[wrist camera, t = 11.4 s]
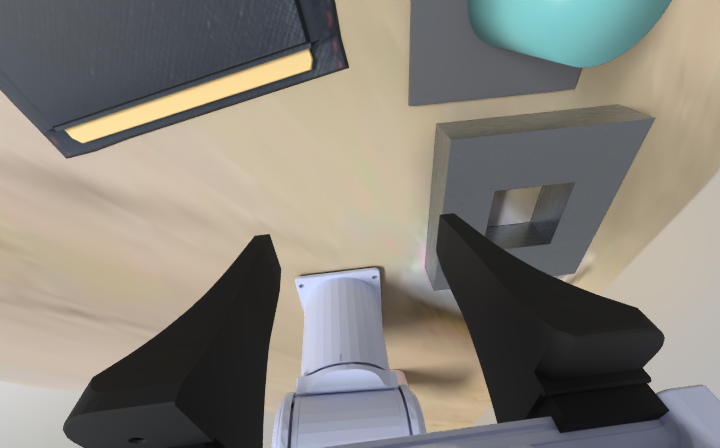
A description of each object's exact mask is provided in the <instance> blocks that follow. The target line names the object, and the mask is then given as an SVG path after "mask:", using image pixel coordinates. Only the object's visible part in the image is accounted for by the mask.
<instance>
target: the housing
mask: <svg viewBox="0 0 720 448" xmlns="http://www.w3.org/2000/svg"><path fill="white" fill-rule="evenodd" d="M654 120H655V118H654V117H651V116H648V115H645V114H643V113H640V112H637V111H634V110H631V109H629V108H626V107H623V106H620V105H610V106H601V107H591V108H582V109H572V110H563V111H553V112H544V113H535V114H525V115H516V116H506V117H497V118H487V119H478V120H468V121H459V122H449V123H440V124H436V136H435V148H434V160H433V173H432V185H431V197H430V210H429V222H428V234H427V247H426V259H425V269H426V271H427V274H428V277H429V279H430V282H431V285H432V287H433V290H434V291H435V290H444V289H450V287H449V285H448V282H447V280H446V278H445V276H444V274H443V272H442V269H441V266H440V263H439V260H438V256H437V253H436V244H437V235H438V225H439V216H440V215H441V214H450V213H454V214H456V215H457V216H459V217H460V218H461V219H462V220H464V221H465V222H466V223H468V224H469V225H470V226H472V227H473V228H474V229H475V230H477V231H478V232H479V233H481V234H482V235H483V236H485V237H486V238H488V239H489V240H490V241H492V242H493V243H495V244H496V245H498V246H499V247H501V248H502V249H504V250H505V251H507V252H508V253H510V254H512V255H513V256H515V257H517V258H518V259H520V260H522V261H524V262H525V263H527V264H529V265H531V266H533V267H534V268H536V269H538V270H540V271H542V272H544V273H546V274H549V275H551V276H558V275H566V274H574V273H575V272H576V270H577V268H578V266H579V264H580V263H581V261H582V259H583V257H584V255H585V253H586V251H587V249H588V247H589V245H590V243H591V241H592V239H593V237H594V235H595V234H596V232H597V230H598V228H599V226H600V224H601V222H602V220H603V218H604V216H605V214H606V212H607V210H608V208H609V207H610V205H611V203H612V201H613V199H614V197H615V195H616V193H617V191H618V189H619V187H620V185H621V183H622V181H623V179H624V178H625V176H626V174H627V172H628V170H629V168H630V166H631V164H632V162H633V160H634V158H635V156H636V154H637V152H638V151H639V149H640V147H641V145H642V143H643V141H644V139H645V137H646V135H647V133H648V131H649V129H650V127H651V125H652V123H653V122H654ZM535 186H542V189H541V192H540V195H539V198H538V201H537V204H536V207H535V210H534V213H533V216H532V219H531V222H529V223H521V224H512V225H503V226H495V227H487V224H488V220H489V215H490V211H491V207H492V203H493V198H494V194H495V191H500V190H509V189H518V188H527V187H535Z"/></svg>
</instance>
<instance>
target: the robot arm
mask: <svg viewBox="0 0 720 448" xmlns="http://www.w3.org/2000/svg"><path fill="white" fill-rule="evenodd" d="M436 253H437V256H438V260H439V263H440V266H441V269H442V272H443V274H444V276H445V278H446V280H447V282H448V285H449V287H450V289H451V291H452V293H453V295H454V297H455V299H456V301H457V304H458V306H459V308H460V310H461V312H462V314H463V316H464V319H465V321H466V324H467V326H468V329H469V332H470V335H471V338H472V341H473V343H474V346H475V349H476V353H477V356H478V359H479V362H480V365H481V368H482V371H483V374H484V378H485V381H486V384H487V388H488V391H489V394H490V398H491V401H492V405H493V408H494V412H495V416H496V419H497V423H498V424H491V425H484V426H476V427H469V428H461V429H454V430H447V431H439V432H432V433H426V428H425V423H424V418H423V414H422V411H421V407H420V405H419V402H418V400H417V397H416V396H415V394H414V393H413V392H412V391H411V390H410V389H409V388H408V386H407V385H405V384H402V385H398V382H397V377H396V372H395V371H390V369H389V363H388V357H387V352H386V346H385V340H384V334H383V329H382V309H381V288H380V272H379V269H378V268H366V269H357V270H349V271H340V272H332V273H324V274H315V275H307V276H299V277H297V278H296V279H295V284H296V287H297V290H298V294H299V297H300V300H301V304H302V307H303V310H304V314H305V320H304V335H303V350H302V365H301V377H298V378H297V385H296V393H295V392H290V393H287V394H286V395H285V398H284V399H283V400H282V401H281V402H280V403H279V405H278V408H277V412H276V417H275V423H274V430H273V439H272V448H720V400H719V399H718V398H717V397H716V396H715V395H714V394H713V393H712V392H711V391H710V390H709V389H708V388H707V387H706V386H704V385H694V386H688V387H679V388H672V389H667V390H663V391H661V392H658V393H656V394H655V392H654V391H653V390H652V389H651V388H650V387H649V385H648V384H647V383H649V382H651V377H650V376H649V375H648V374H647V373H646V372H645V370H644V369H643V367H644V366H645V365H646V364H647V362H648V361H649V360H651V359H652V358H653V357H654V355H655V354H656V353H657V352H658V351H659V350H660V349H661V347H662V346H663V342H664V338H665V337H664V335H663V333H662V332H661V331H660V330H659V329H658V328H657V327H656V326H655V325H654V324H653V323H652V322H651V321H650V320H649V319H648V318H647V317H646V316H645V315H644V314H643V313H642V312H641V311H640V310H639V309H638V308H635V307H633V306H630V305H626V304H623V303H620V302H617V301H614V300H611V299H608V298H605V297H602V296H599V295H596V294H594V293H591V292H589V291H586V290H583V289H581V288H578V287H576V286H573V285H571V284H569V283H566V282H564V281H562V280H559V279H557V278H555V277H553V276H551V275H549V274H546V273H544V272H542V271H540V270H538V269H536V268H534V267H533V266H531V265H529V264H527V263H525V262H524V261H522V260H520V259H518V258H517V257H515V256H513V255H512V254H510V253H508V252H507V251H505V250H504V249H502V248H501V247H499V246H498V245H496V244H495V243H493V242H492V241H490V240H489V239H488V238H486V237H485V236H483V235H482V234H481V233H479V232H478V231H477V230H475V229H474V228H473V227H472V226H470V225H469V224H468V223H466V222H465V221H464V220H462V219H461V218H460V217H459V216H457V215H456V214H454V213H450V214H441V215H440V216H439V225H438V235H437V244H436ZM280 280H281V267H280V264H279V261H278V258H277V255H276V252H275V249H274V246H273V243H272V240H271V237H270V234H267V235H258V236H254V238H253V239H252V240H251V241H250V243H249V244H248V245H247V246H246V248H245V249H244V250H243V251H242V253H241V254H240V255H239V256H238V258H237V259H236V260H235V261H234V263H233V264H232V265H231V266H230V267H229V269H228V270H227V271H226V272H225V273H224V274H223V276H222V277H221V278H220V279H219V280H218V281H217V282H216V283H215V284H214V285H213V287H212V288H211V289H210V290H209V291H208V292H207V293H206V294H205V295H204V296H203V297H202V298H201V299H200V300H198V301H197V302H196V303H195V304H194V305H193V306H192V307H191V308H190V309H189V310H188V311H186V312H185V313H184V314H183V315H182V316H180V317H179V318H178V319H177V320H175V321H174V322H173V323H172V324H171V325H169V326H168V327H167V328H166V329H164V330H163V331H162V332H160V333H159V334H158V335H156V336H155V337H154V338H152V339H151V340H150V341H148V342H147V343H145V344H144V345H142V346H141V347H140V348H138V349H137V350H135V351H134V352H132V353H131V354H129V355H128V356H126V357H125V358H123V359H122V360H120V361H118V362H117V363H115V364H114V365H112V366H110V367H109V368H107V369H106V370H104V371H102V372H101V373H99V374H98V375H96V376H94V377H93V378H92V380H91V381H90V383H89V384H88V386H87V387H86V389H85V391H84V392H83V394H82V396H81V398H80V399H79V401H78V402H77V404H76V405H75V407H74V409H73V410H72V412H71V413H70V415H69V417H68V418H67V420H66V421H65V423H64V426H63V431H64V433H65V435H66V436H67V438H69V439H70V440H71V441H73V442H74V443H76V444H78V445H80V446H82V447H84V448H262V447H263V419H264V400H265V385H266V372H267V361H268V350H269V343H270V337H271V332H272V327H273V322H274V317H275V312H276V307H277V302H278V297H279V292H280ZM301 284H302V285H301Z"/></svg>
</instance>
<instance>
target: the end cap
mask: <svg viewBox="0 0 720 448" xmlns="http://www.w3.org/2000/svg"><path fill="white" fill-rule="evenodd" d="M671 1H672V0H468V15H469V20H470V24H471V26H472V29H473V31H474V32H475V34H476V35H477V37H478V38H479V39H480V40H482V41H483V42H484V43H486V44H488V45H491V46H494V47H498V48H502V49H506V50H510V51H514V52H518V53H522V54H526V55H530V56H534V57H538V58H542V59H546V60H550V61H554V62H557V63H561V64H565V65H569V66H573V67H580V68H582V67H593V66H597V65H601V64H604V63H606V62H608V61H611V60H613V59H615V58H616V57H618V56H620V55H621V54H623V53H624V52H626V51H627V50H629V49H630V48H631V47H633V46H634V45H635V44H636V43H637V42H639V41H640V40H641V39H642V38H643V37H644V36H645V35H646V34H647V33H648V32H649V31H650V30H651V28H652V27H653V26H654V25H655V24H656V22H657V21H658V20H659V19H660V18H661V16H662V15H663V13H664V12H665V10H666V9H667V8H668V6H669V4H670V3H671Z"/></svg>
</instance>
